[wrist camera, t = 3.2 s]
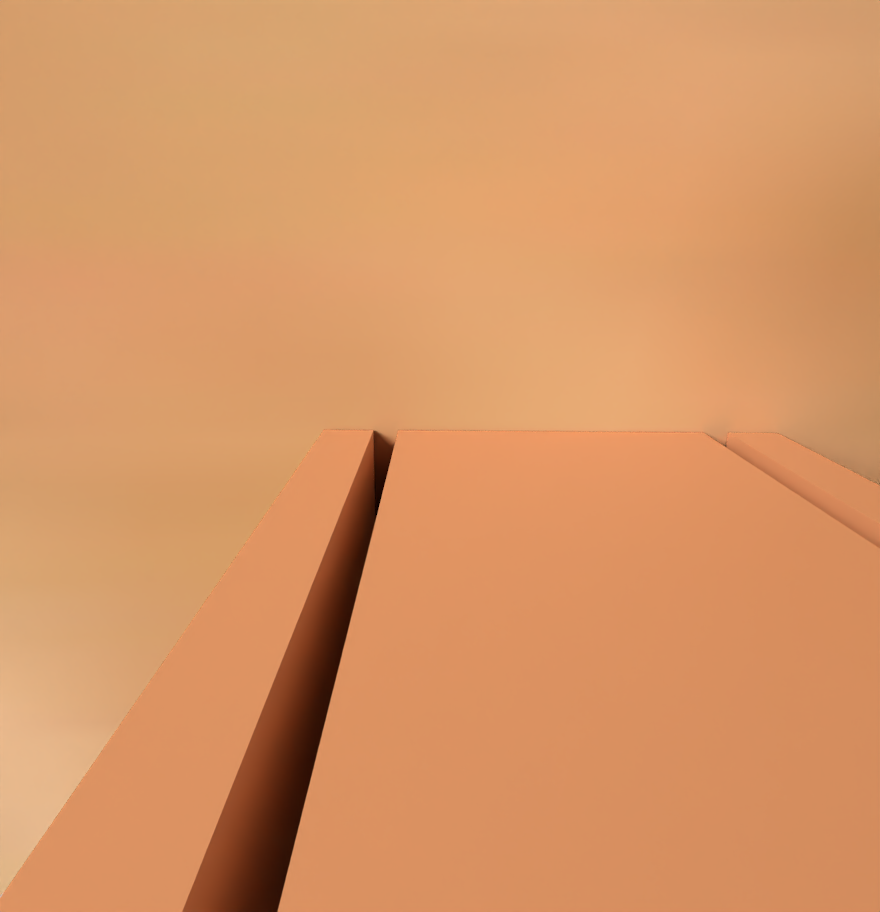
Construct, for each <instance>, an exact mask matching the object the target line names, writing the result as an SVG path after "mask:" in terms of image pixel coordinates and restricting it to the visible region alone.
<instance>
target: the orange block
mask: <svg viewBox="0 0 880 912" xmlns="http://www.w3.org/2000/svg"><path fill="white" fill-rule="evenodd" d="M0 912H880V485H878V484H876V483H874V482H872V481H870V480H868V479H866V478H864V477H862V476H860V475H858V474H856V473H854V472H852V471H851V470H849V469H847V468H845V467H843V466H841V465H839V464H837V463H835V462H833V461H831V460H829V459H827V458H825V457H823V456H821V455H819V454H817V453H815V452H814V451H812V450H810V449H808V448H806V447H804V446H802V445H800V444H798V443H796V442H794V441H792V440H790V439H788V438H786V437H784V436H782V435H780V434H779V433H728V437H727V445H726V447H724V446H723V445H721V444H720V443H718V442H717V441H715V440H714V439H712V438H711V437H709V436H708V435H706V434H705V433H699V432H564V431H428V430H398V433H397V437H396V441H395V445H394V449H393V453H392V457H391V461H390V465H389V469H388V473H387V477H386V481H385V485H384V489H383V493H382V497H381V501H380V505H379V509H378V513H377V517H376V521H375V483H374V434H373V430H323V432H322V433H321V434H320V436H319V437H318V439H317V440H316V442H315V443H314V445H313V446H312V447H311V449H310V450H309V452H308V453H307V455H306V456H305V458H304V459H303V460H302V462H301V463H300V465H299V466H298V468H297V469H296V471H295V472H294V474H293V475H292V476H291V478H290V479H289V481H288V482H287V484H286V485H285V487H284V488H283V489H282V491H281V492H280V494H279V495H278V497H277V498H276V500H275V501H274V502H273V504H272V505H271V507H270V508H269V510H268V511H267V513H266V514H265V515H264V517H263V518H262V520H261V521H260V523H259V524H258V526H257V527H256V529H255V530H254V531H253V533H252V534H251V536H250V537H249V539H248V540H247V542H246V543H245V544H244V546H243V547H242V549H241V550H240V552H239V553H238V555H237V556H236V557H235V559H234V560H233V562H232V563H231V565H230V566H229V568H228V569H227V571H226V572H225V573H224V575H223V576H222V578H221V579H220V581H219V582H218V584H217V585H216V586H215V588H214V589H213V591H212V592H211V594H210V595H209V597H208V598H207V599H206V601H205V602H204V604H203V605H202V607H201V608H200V610H199V611H198V612H197V614H196V615H195V617H194V618H193V620H192V621H191V623H190V624H189V626H188V627H187V628H186V630H185V631H184V633H183V634H182V636H181V637H180V639H179V640H178V641H177V643H176V644H175V646H174V647H173V649H172V650H171V652H170V653H169V654H168V656H167V657H166V659H165V660H164V662H163V663H162V665H161V666H160V667H159V669H158V670H157V672H156V673H155V675H154V676H153V678H152V679H151V681H150V682H149V683H148V685H147V686H146V688H145V689H144V691H143V692H142V694H141V695H140V696H139V698H138V699H137V701H136V702H135V704H134V705H133V707H132V708H131V709H130V711H129V712H128V714H127V715H126V717H125V718H124V720H123V721H122V722H121V724H120V725H119V727H118V728H117V730H116V731H115V733H114V734H113V736H112V737H111V738H110V740H109V741H108V743H107V744H106V746H105V747H104V749H103V750H102V751H101V753H100V754H99V756H98V757H97V759H96V760H95V762H94V763H93V764H92V766H91V767H90V769H89V770H88V772H87V773H86V775H85V776H84V777H83V779H82V780H81V782H80V783H79V785H78V786H77V788H76V789H75V791H74V792H73V793H72V795H71V796H70V798H69V799H68V801H67V802H66V804H65V805H64V806H63V808H62V809H61V811H60V812H59V814H58V815H57V817H56V818H55V819H54V821H53V822H52V824H51V825H50V827H49V828H48V830H47V831H46V832H45V834H44V835H43V837H42V838H41V840H40V841H39V843H38V844H37V846H36V847H35V848H34V850H33V851H32V853H31V854H30V856H29V857H28V859H27V860H26V861H25V863H24V864H23V866H22V867H21V869H20V870H19V872H18V873H17V874H16V876H15V877H14V879H13V880H12V882H11V883H10V885H9V886H8V887H7V889H6V890H5V892H4V893H3V895H2V896H1V898H0Z"/></svg>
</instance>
